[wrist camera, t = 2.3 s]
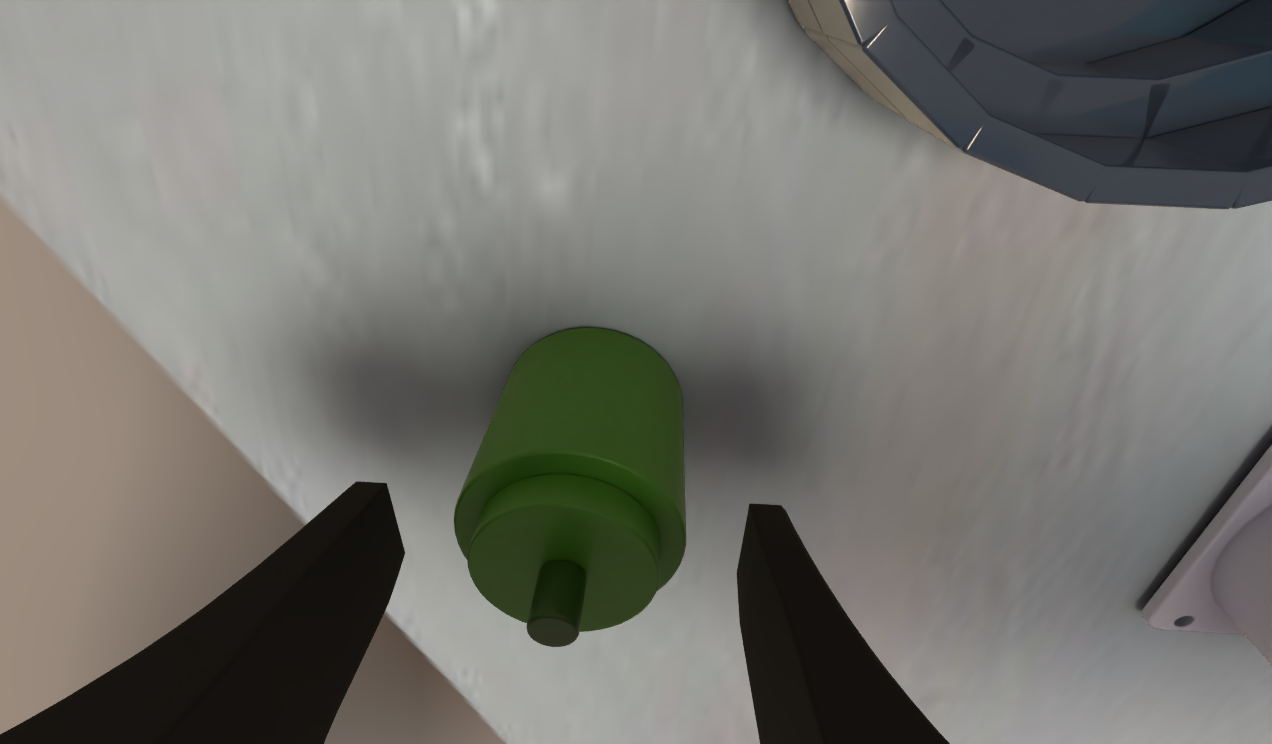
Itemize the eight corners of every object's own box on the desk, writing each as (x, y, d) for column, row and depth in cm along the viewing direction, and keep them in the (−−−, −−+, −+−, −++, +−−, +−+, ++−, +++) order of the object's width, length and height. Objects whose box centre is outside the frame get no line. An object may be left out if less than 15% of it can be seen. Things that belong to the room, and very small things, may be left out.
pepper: (689, 331, 14) (699, 549, 9) (676, 474, 17) (678, 713, 11) (498, 321, 15) (391, 530, 9) (514, 465, 17) (437, 697, 11)
